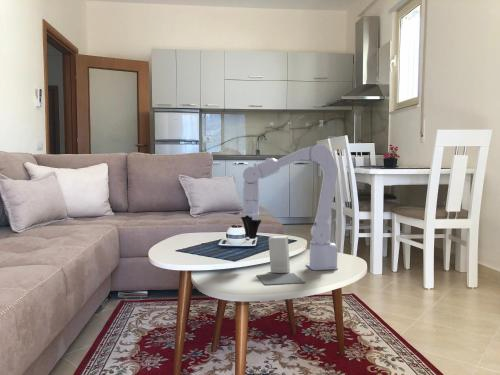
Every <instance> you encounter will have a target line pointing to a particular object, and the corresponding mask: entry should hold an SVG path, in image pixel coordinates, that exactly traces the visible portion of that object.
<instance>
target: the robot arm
mask: <svg viewBox="0 0 500 375" xmlns="http://www.w3.org/2000/svg"><path fill="white" fill-rule="evenodd" d="M301 160H303V161H310V160H311V161H312V162H313V163H315V164H316V165H318V166H319V169H320V170H322V172H323V175H322V182H321V187H320V193H319V197H318V198H319V199H318V203H317V204H318V205H317V209H316V210H317V211H316V215H315V218H314V223H313V225H312V226H311V228H310V235H311V240H310V241H309V263H305V266H306V267H307V268H308V269H309V268H310V270H312V271H324V270H325V271H326V270H328V271H329V270H338V268H339V267H338V247H337V244H336V243H335V242H331V241H330V239H331V232H330V225H331V224H330V223H331V220H330V218H331V213H332V208H333V207H332V206H333V200H334V195H335V194H334V193H335V188H336V183H337V177H338V171H339V167H338V165H337V163H336V161H335V158H334V155H333V152H332V150H330V149H329V148H328V146H326V145H325V144H321V143H318V144H315V145H314V146H311V145H310V146H307V147H304V148H300V149H298V150H296V151H294V152H291V153H289V154H287V155H285V156H282V157H280V158H278V159H276V158H274V157H271V158H270V157H266V158H265V160H264V161H261V162H259V163H253V166H248V167H247V168H245V169H244V170H243V172H242V177H243V180H244V181H243V188H242V195H243V196H242V200H243V201H242V204H243V205H242V206H243V207H242V211H239V215H242V216H241V217H240V218H241V221H242V224H243V226H244V232H245V237H248V239H249V240H255V239H256V238H257V235H258V234H257V233H258V229H259V226H260V224H261V223H262V219H259V216H260V187H259V180H260V179H266V178H268V177H270V176H271V177H272V176H273V175H275V174H277V173H279V172H280V170H281V168H283V167H285V166H287V165H291V164H294V163H295V162H298V161H301ZM243 215H244V216H243Z"/></svg>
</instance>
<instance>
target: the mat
mask: <svg viewBox="0 0 500 375" xmlns="http://www.w3.org/2000/svg"><path fill="white" fill-rule="evenodd" d="M255 277H257V278H258V280H259V281H260V282H261V283H262V284H263V285H264V286H277V285H279V286H281V285H293V284H294V285H296V284H297V285H298V284H299V285H300V284H306V282H305V281H304V280H303V279H302V278H300V277H299V276H298V275H297V274H295V273H294V272H293V273H291V272H290V273H289V272H288V273H272V274H271V273H270V274H256V276H255Z"/></svg>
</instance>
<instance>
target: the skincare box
mask: <svg viewBox="0 0 500 375" xmlns="http://www.w3.org/2000/svg"><path fill="white" fill-rule="evenodd" d="M289 248H290V247H289V236H288V235H287V236H285V235H284V236H281V235H280V236H279V235H278V236H275V235H273V236H270V237H269V238H268V249H269V250H268V252H269V264H270V266H269V267H270V274H271V273H272V274H288V273H289V272H290V271H291V268H290V267H291V265H290V250H289Z"/></svg>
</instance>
